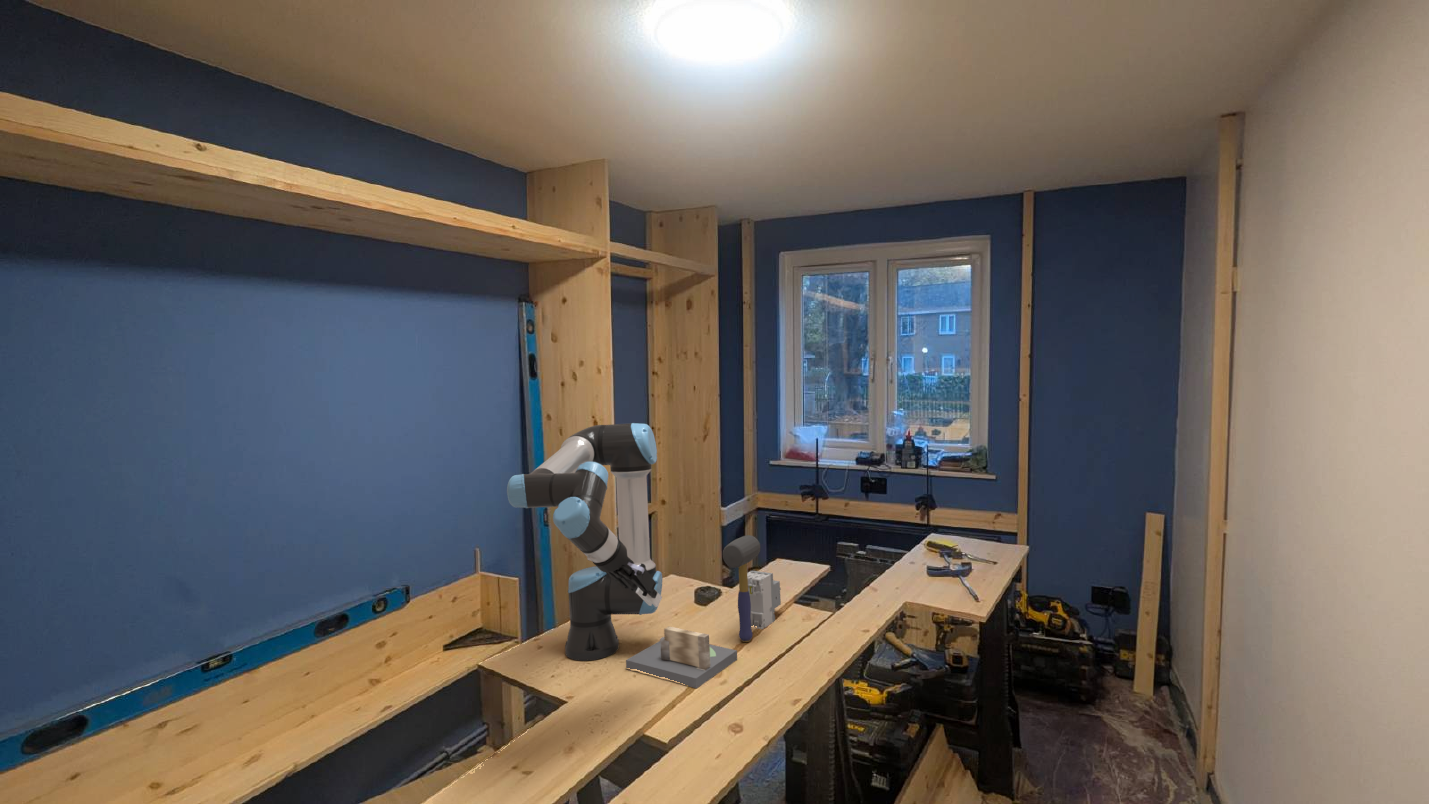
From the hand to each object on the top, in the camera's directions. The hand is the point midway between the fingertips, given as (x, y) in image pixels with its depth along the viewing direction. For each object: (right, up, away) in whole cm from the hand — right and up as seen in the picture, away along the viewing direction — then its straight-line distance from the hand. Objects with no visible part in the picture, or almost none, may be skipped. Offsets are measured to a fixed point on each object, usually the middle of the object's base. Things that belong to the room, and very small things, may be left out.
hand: (655, 601), depth 156 cm
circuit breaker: (+30, -20, +45) cm, 58 cm away
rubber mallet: (+24, -21, +29) cm, 42 cm away
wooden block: (+7, -19, +10) cm, 22 cm away
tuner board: (+6, -22, +15) cm, 27 cm away
